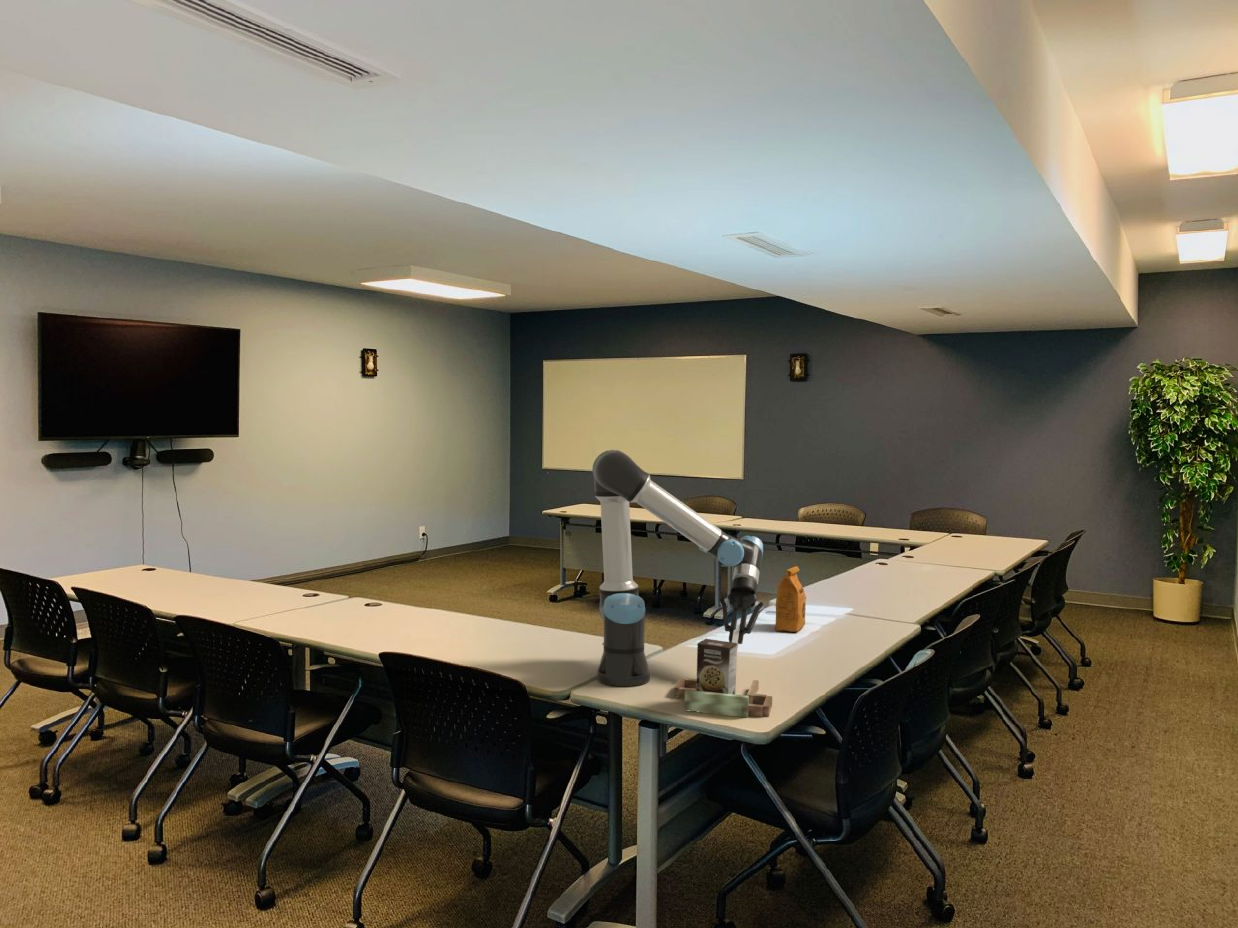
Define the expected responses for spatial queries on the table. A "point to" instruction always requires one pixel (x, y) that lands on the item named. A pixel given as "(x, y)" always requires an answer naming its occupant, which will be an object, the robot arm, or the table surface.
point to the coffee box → (716, 666)
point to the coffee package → (790, 603)
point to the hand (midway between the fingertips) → (733, 652)
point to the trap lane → (723, 700)
